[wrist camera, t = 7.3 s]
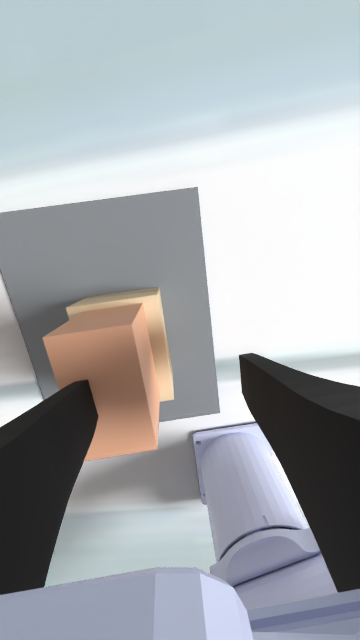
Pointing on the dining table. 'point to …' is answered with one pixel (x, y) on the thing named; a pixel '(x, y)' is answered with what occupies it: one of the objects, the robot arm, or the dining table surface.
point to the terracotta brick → (111, 376)
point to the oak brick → (154, 325)
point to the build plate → (116, 279)
